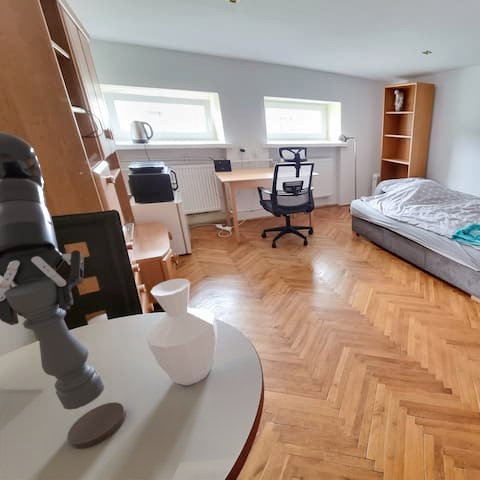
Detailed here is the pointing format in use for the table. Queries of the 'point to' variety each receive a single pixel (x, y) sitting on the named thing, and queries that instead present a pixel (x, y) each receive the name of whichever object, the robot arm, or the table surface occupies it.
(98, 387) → the candle holder
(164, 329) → the vase
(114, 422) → the coaster
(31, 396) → the table surface
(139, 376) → the table surface
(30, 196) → the robot arm
